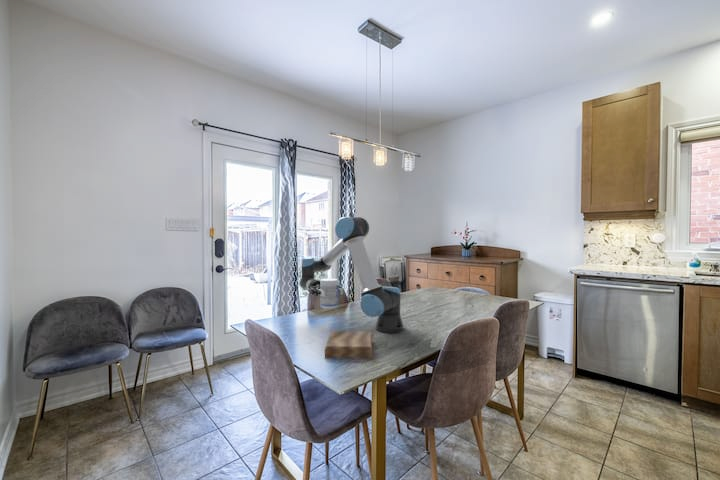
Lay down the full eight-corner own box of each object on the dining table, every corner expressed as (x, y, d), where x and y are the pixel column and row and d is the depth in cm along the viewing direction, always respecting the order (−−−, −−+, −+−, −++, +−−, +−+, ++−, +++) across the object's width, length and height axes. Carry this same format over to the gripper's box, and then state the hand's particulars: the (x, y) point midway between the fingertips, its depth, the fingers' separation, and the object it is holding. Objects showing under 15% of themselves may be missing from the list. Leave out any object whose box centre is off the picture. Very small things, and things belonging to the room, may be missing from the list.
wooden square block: (371, 341, 149) (371, 331, 149) (372, 358, 129) (372, 347, 129) (330, 341, 150) (330, 331, 149) (324, 358, 130) (324, 346, 129)
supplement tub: (340, 308, 159) (340, 280, 159) (322, 310, 156) (322, 281, 155) (335, 304, 168) (335, 277, 168) (318, 305, 165) (318, 278, 164)
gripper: (332, 290, 183) (351, 297, 164) (296, 294, 171) (313, 302, 152) (332, 278, 182) (351, 283, 164) (296, 281, 170) (313, 287, 152)
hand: (333, 292), depth 158 cm, fingers closed on supplement tub, 9 cm apart
